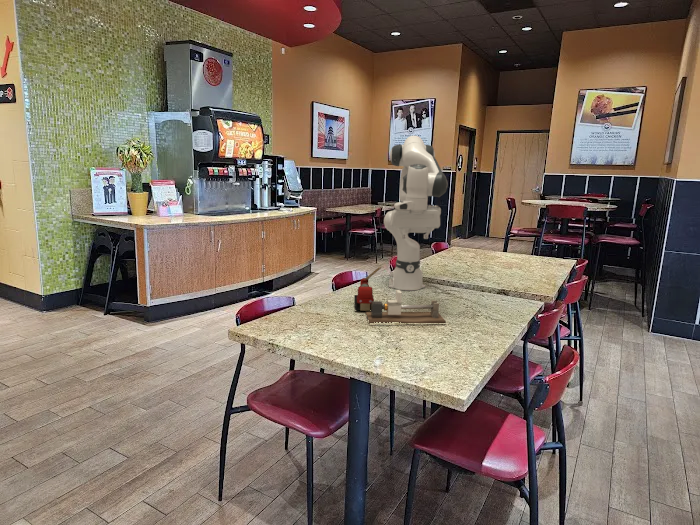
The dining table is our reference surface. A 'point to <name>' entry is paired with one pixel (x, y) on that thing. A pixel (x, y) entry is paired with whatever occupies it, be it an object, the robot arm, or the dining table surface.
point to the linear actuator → (411, 316)
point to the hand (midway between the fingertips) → (414, 238)
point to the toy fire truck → (364, 294)
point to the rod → (378, 306)
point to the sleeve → (395, 304)
